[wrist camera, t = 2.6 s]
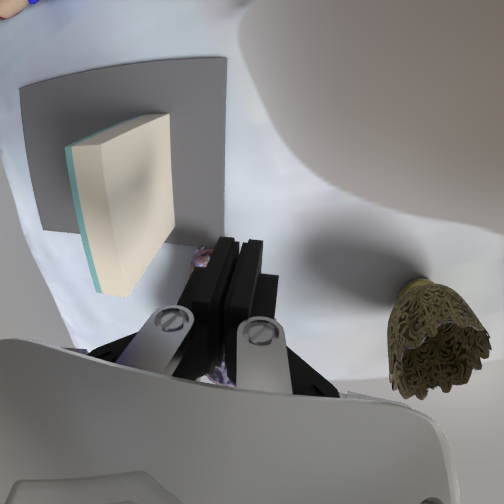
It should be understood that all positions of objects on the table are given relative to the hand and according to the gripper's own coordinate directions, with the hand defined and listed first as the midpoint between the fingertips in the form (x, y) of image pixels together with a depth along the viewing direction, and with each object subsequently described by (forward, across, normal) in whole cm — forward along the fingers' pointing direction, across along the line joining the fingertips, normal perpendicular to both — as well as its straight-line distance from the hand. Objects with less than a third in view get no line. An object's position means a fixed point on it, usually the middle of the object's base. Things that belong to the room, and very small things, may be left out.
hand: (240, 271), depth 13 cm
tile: (+9, +7, -1) cm, 11 cm away
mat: (+9, +11, -2) cm, 15 cm away
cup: (+10, -13, +7) cm, 18 cm away
